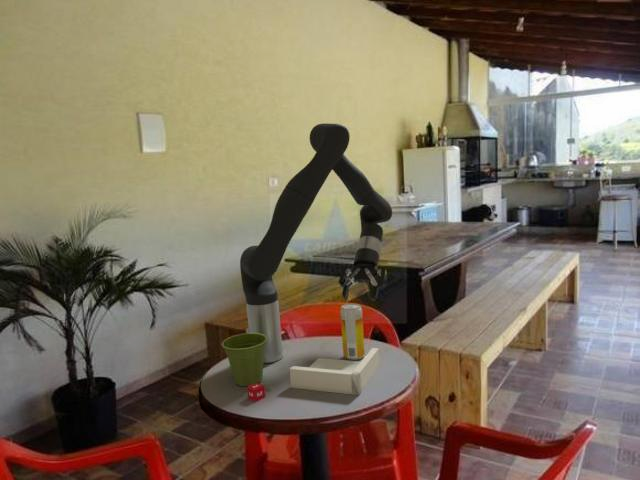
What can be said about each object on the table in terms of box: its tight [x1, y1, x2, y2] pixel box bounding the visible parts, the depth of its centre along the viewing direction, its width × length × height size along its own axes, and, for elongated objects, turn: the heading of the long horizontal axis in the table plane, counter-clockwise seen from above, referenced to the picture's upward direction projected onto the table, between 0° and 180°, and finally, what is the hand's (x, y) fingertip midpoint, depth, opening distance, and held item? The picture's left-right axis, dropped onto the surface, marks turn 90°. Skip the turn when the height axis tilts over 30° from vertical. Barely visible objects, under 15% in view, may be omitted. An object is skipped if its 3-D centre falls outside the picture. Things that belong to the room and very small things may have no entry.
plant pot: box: [221, 332, 267, 387], centre depth 132 cm, size 12×12×11 cm
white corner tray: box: [289, 347, 381, 396], centre depth 131 cm, size 18×18×5 cm
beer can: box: [340, 303, 366, 361], centre depth 143 cm, size 6×6×15 cm
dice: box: [246, 382, 266, 402], centre depth 122 cm, size 3×3×3 cm
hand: (358, 298), depth 149 cm, fingers open, 8 cm apart
